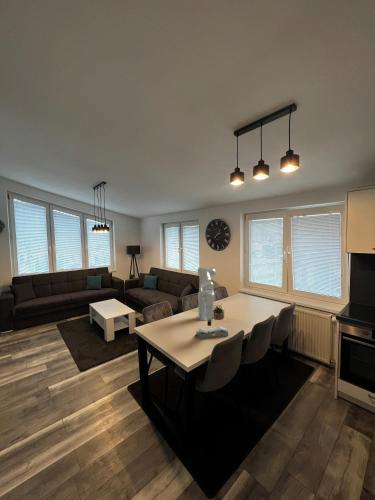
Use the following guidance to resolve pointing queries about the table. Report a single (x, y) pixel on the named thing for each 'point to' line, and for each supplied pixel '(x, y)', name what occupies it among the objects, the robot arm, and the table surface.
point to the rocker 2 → (212, 329)
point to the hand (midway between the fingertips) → (209, 325)
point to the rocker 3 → (222, 328)
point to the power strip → (211, 334)
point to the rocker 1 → (202, 330)
